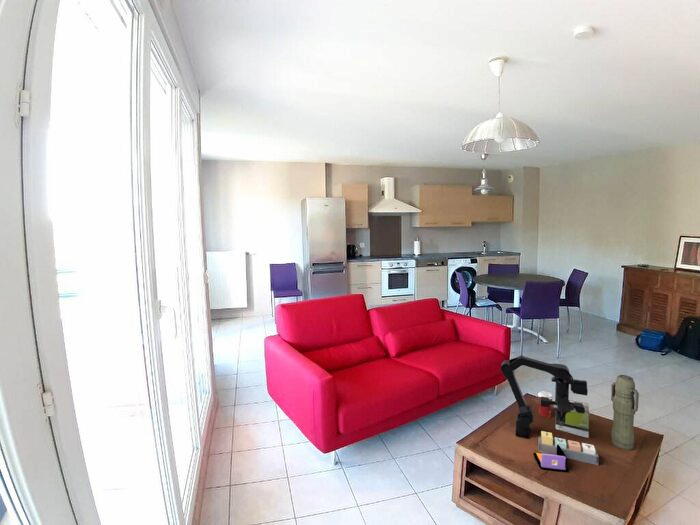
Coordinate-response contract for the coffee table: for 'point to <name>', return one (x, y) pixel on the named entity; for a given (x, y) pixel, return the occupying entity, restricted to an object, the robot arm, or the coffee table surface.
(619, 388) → the green thermos flask
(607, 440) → the coffee table surface
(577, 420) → the tea box
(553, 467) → the business card holder
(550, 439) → the key
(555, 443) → the key with caret symbol
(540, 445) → the keypad
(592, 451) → the key
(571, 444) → the key with dash symbol
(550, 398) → the paper cup
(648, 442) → the coffee table surface
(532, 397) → the coffee table surface
